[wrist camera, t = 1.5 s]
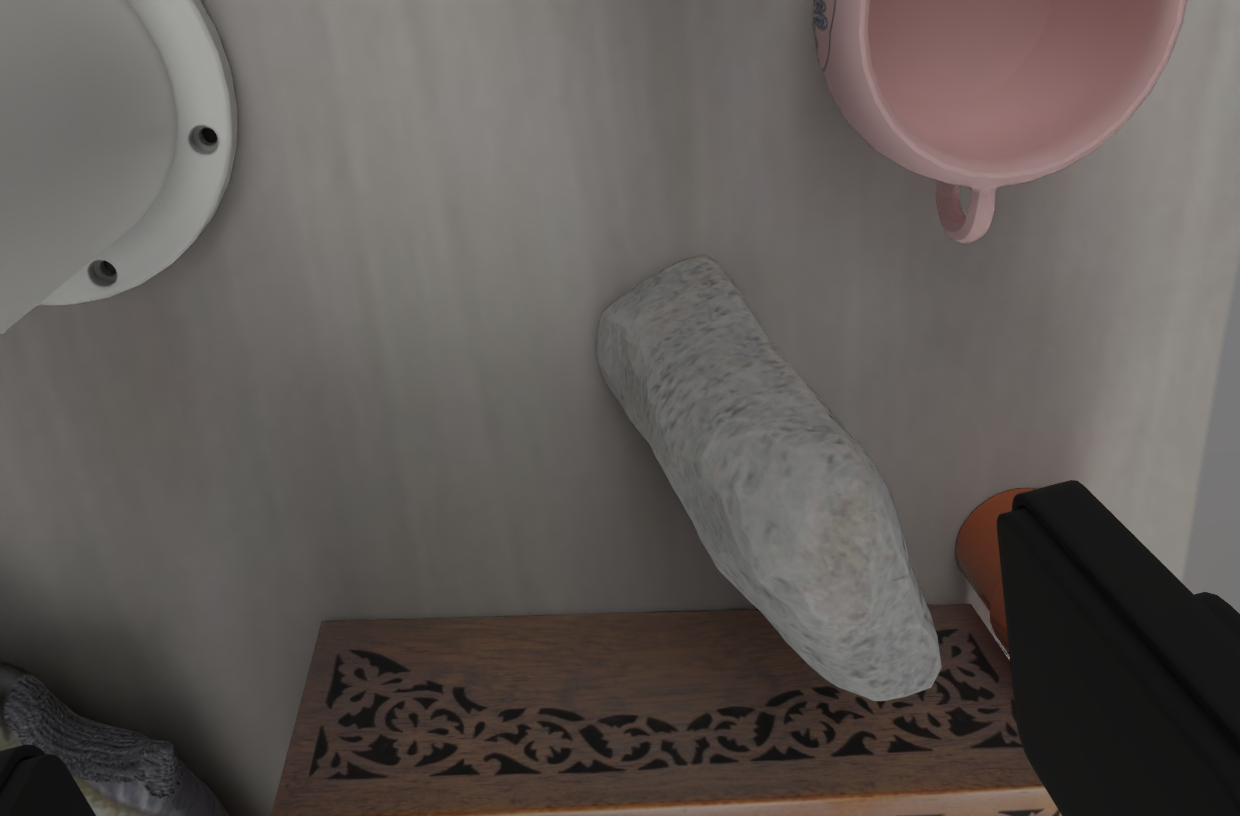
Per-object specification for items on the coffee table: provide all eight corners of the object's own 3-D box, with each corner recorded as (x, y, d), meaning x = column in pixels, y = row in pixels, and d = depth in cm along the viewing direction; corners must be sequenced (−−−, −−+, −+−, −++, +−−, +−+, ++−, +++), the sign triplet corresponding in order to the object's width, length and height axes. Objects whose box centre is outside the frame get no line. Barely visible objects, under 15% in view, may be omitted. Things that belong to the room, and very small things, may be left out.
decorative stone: (851, 470, 41) (1024, 745, 27) (712, 543, 42) (813, 846, 28) (723, 228, 36) (853, 412, 23) (570, 315, 37) (609, 543, 24)
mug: (794, -182, 31) (853, -203, 26) (1119, -188, 32) (1242, -208, 27) (778, 221, 36) (825, 273, 31) (1060, 207, 37) (1153, 256, 32)
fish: (-348, 751, 37) (-228, 569, 34) (-263, 671, 40) (-147, 500, 37) (238, 1026, 44) (382, 899, 41) (265, 937, 48) (399, 814, 45)
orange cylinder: (936, 505, 42) (1022, 622, 35) (1070, 462, 42) (1184, 570, 35) (960, 613, 44) (1044, 742, 37) (1087, 572, 44) (1196, 695, 37)
